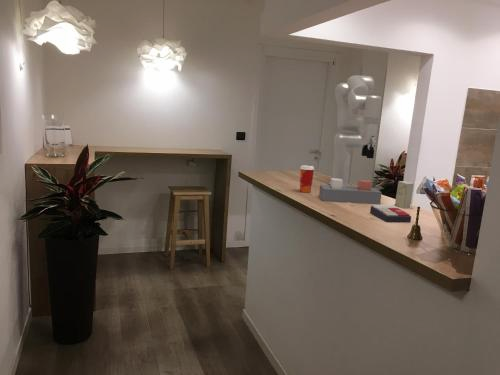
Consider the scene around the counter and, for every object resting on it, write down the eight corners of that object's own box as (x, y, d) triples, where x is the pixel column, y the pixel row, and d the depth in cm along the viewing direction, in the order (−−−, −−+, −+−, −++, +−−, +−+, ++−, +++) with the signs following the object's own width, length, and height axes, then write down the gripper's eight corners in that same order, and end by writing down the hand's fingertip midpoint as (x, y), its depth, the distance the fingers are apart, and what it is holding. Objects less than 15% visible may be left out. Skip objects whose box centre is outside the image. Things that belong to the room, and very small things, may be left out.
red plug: (357, 193, 211) (358, 179, 210) (366, 193, 211) (368, 180, 210) (359, 195, 206) (361, 181, 205) (369, 195, 206) (371, 182, 205)
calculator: (387, 214, 169) (370, 204, 183) (386, 224, 170) (369, 213, 184) (412, 214, 171) (393, 204, 185) (410, 224, 172) (392, 213, 186)
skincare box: (394, 205, 203) (397, 181, 200) (401, 205, 204) (404, 180, 202) (403, 208, 197) (406, 183, 195) (410, 208, 199) (414, 183, 196)
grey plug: (329, 191, 211) (330, 178, 210) (339, 192, 211) (340, 178, 210) (331, 193, 206) (332, 179, 205) (341, 194, 206) (342, 180, 205)
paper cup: (301, 190, 229) (303, 164, 226) (314, 192, 225) (316, 166, 223) (295, 192, 222) (297, 166, 220) (308, 194, 218) (311, 167, 216)
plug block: (319, 196, 215) (320, 184, 214) (372, 199, 215) (374, 187, 214) (323, 201, 203) (324, 189, 202) (380, 204, 203) (381, 192, 202)
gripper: (358, 120, 210) (355, 154, 213) (368, 121, 193) (364, 158, 196) (373, 121, 210) (369, 155, 213) (384, 122, 193) (380, 159, 196)
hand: (367, 156), depth 205 cm, fingers open, 8 cm apart
